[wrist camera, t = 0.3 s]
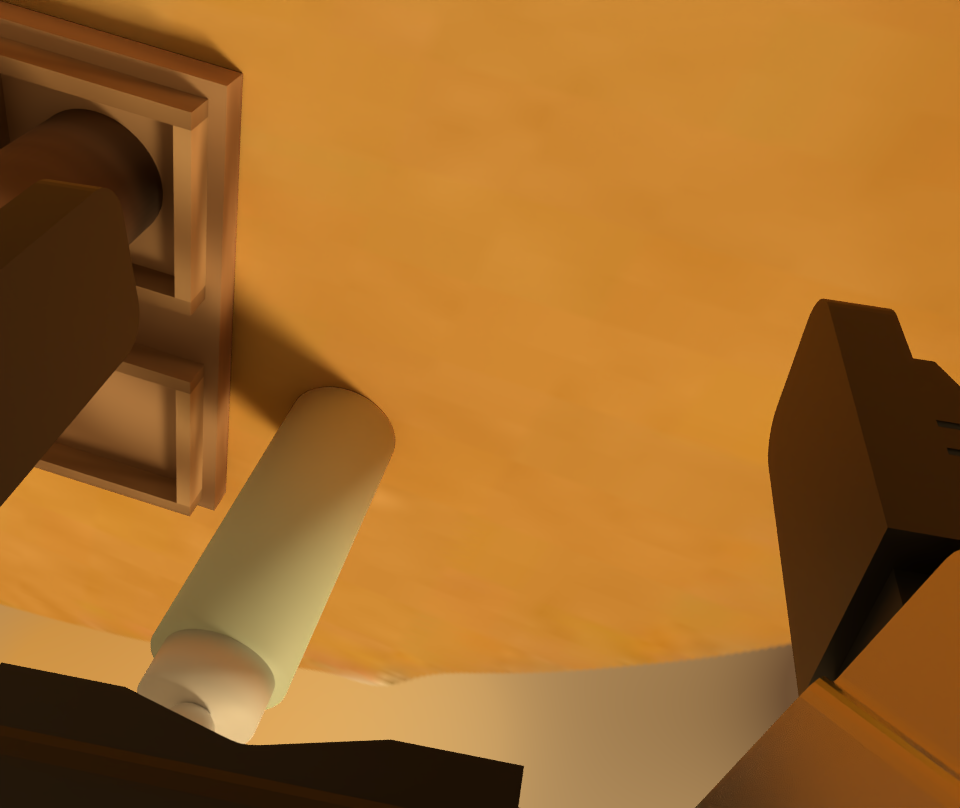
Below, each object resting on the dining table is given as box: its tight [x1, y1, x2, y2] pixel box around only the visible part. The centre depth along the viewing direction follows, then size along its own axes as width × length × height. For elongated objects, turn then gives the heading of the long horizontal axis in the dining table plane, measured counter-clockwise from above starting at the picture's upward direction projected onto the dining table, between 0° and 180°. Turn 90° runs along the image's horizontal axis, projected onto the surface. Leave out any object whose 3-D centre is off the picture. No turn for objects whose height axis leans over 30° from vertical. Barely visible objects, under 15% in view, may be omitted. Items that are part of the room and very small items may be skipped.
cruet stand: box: [0, 1, 243, 516], centre depth 35 cm, size 20×9×2 cm, turn 168°
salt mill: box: [137, 387, 395, 744], centre depth 32 cm, size 5×5×15 cm
